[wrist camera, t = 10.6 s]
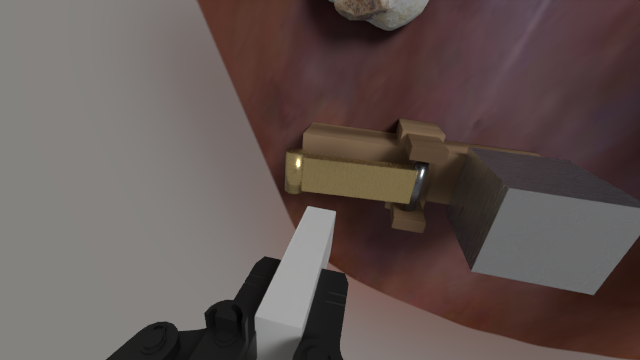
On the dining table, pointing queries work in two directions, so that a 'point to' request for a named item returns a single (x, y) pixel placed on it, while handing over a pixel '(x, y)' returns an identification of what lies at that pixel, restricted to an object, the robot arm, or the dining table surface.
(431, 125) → the tan wooden beam joint
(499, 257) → the brushed steel cube
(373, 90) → the dining table surface
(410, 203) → the lever
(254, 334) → the robot arm
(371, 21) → the stone
